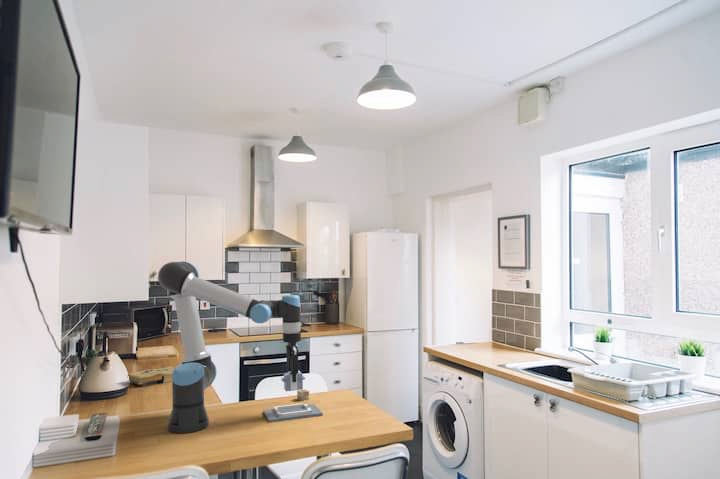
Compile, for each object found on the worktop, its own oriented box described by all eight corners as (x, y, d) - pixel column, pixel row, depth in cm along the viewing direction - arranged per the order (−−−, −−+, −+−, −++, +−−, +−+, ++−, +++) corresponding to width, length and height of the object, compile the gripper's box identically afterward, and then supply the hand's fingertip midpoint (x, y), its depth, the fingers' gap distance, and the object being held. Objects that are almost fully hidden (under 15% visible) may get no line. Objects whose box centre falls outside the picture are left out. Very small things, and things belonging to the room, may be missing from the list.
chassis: (268, 422, 195) (268, 416, 195) (263, 412, 208) (263, 406, 209) (322, 415, 203) (322, 410, 203) (314, 406, 216) (313, 401, 216)
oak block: (301, 401, 224) (301, 392, 224) (297, 399, 227) (297, 390, 227) (309, 400, 226) (309, 391, 226) (305, 398, 229) (304, 389, 229)
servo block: (283, 391, 203) (283, 373, 203) (281, 389, 206) (281, 371, 207) (305, 389, 206) (304, 371, 206) (303, 386, 210) (302, 369, 210)
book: (171, 375, 280) (171, 364, 281) (185, 379, 269) (185, 368, 269) (126, 383, 262) (126, 372, 263) (139, 389, 251) (139, 377, 251)
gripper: (305, 334, 200) (306, 392, 199) (296, 328, 216) (297, 382, 215) (286, 335, 198) (287, 394, 197) (279, 330, 214) (279, 384, 213)
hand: (292, 388), depth 206 cm, fingers closed on servo block, 4 cm apart
